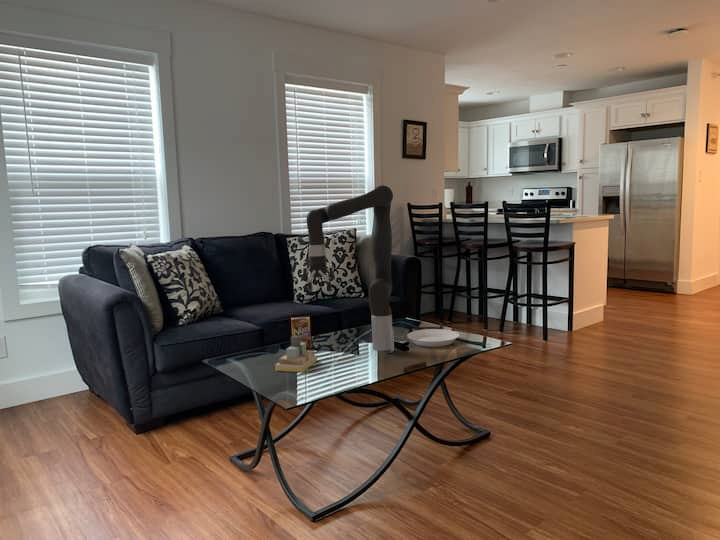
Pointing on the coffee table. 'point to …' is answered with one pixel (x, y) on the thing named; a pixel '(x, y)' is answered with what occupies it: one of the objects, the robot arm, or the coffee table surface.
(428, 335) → the white plate
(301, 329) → the candy box
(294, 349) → the block
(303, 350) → the block
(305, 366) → the block
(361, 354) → the coffee table surface
